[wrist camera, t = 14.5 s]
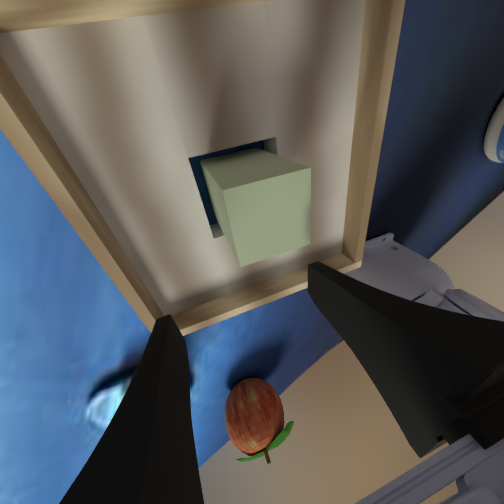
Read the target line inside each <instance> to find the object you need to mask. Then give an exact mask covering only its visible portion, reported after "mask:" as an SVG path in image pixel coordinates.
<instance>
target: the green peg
mask: <svg viewBox="0 0 504 504" xmlns="http://www.w3.org/2000/svg"><path fill="white" fill-rule="evenodd" d="M200 164H201V167H202V171H203V175H204V178H205V182H206V186H207V189H208V193H209V196H210V200H211V204H212V207H213V211H214V215H215V217H216V219H217V221H218V223H219V225H220V227H221V229H222V231H223V233H224V235H225V237H226V239H227V241H228V243H229V245H230V247H231V249H232V252H233V254H234V256H235V258H236V260H237V262H238V264H239V266H240V267H243V266H246V265H249V264H252V263H255V262H258V261H261V260H264V259H267V258H270V257H273V256H276V255H279V254H282V253H285V252H288V251H291V250H294V249H297V248H300V247H303V246H306V245H309V244H311V167H309V166H306V165H303V164H300V163H297V162H295V161H292V160H289V159H286V158H284V157H281V156H278V155H275V154H272V153H270V152H267V151H264V150H261V149H258V148H252V149H248V150H243V151H239V152H235V153H230V154H226V155H222V156H217V157H213V158H208V159H204V160H200Z"/></svg>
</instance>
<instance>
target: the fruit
mask: <svg viewBox="0 0 504 504" xmlns="http://www.w3.org/2000/svg"><path fill="white" fill-rule="evenodd" d="M293 423H294V421H290V422H288V423H287V425H286V427H285V428H284V411H283V406H282V403H281V399H280V398H279V395H278V393H277V392H276V391H275V389H274V388H273V387H272V386H271V385H270V384H269V383H267V382H266V381H264V380H262V379H259V378H248V379H245V380H243V381H241V382H239V383H238V384H237V385H236V386H234V387H233V389H232V391H231V392H230V394H229V396H228V398H227V402H226V408H225V424H226V428H227V431H228V434H229V437H230V439H231V441H232V442H233V444H234V445H235V446H236V447H237V448H238V449H239V450H240V451H242V452H243V453H245V454H247V455H248V456H252V457H248V458H242V459H237V460H239V461H250V460H253V459H256V458H259V457H261V456H263V455H264V454H265V457H266V460H267V464H270V463H271V462H270V458H269V455H268V451H269V450H271V449H273V448H275V447H278V446H279V445H280V444H281V443H282V442H283V441H284V440H285V439H286V438H287V437H288V435H289V433H290V431H291V428H292V426H293ZM283 428H284V430H283Z"/></svg>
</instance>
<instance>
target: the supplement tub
mask: <svg viewBox="0 0 504 504" xmlns="http://www.w3.org/2000/svg"><path fill="white" fill-rule="evenodd" d="M484 152H485V154H486V156H487V157H488V158H489V159H490V160H492V161H495V162H501V163H504V97H503V99H502V100H501V102H500V103H499V105H498V107H497V108H496V110H495V112H494V114H493V116H492V118H491V120H490V122H489V125H488V128H487V130H486V134H485V138H484Z"/></svg>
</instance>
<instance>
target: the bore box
mask: <svg viewBox="0 0 504 504" xmlns="http://www.w3.org/2000/svg"><path fill="white" fill-rule="evenodd" d="M404 5H405V0H0V129H1V131H2V132H3V133H4V135H5V136H6V137H7V139H8V140H9V141H10V143H11V144H12V145H13V147H14V148H15V149H16V151H17V152H18V154H19V155H20V156H21V158H22V159H23V160H24V162H25V163H26V164H27V166H28V167H29V168H30V170H31V171H32V173H33V174H34V175H35V177H36V178H37V179H38V181H39V182H40V183H41V185H42V186H43V187H44V189H45V190H46V191H47V193H48V194H49V196H50V197H51V198H52V200H53V201H54V202H55V204H56V205H57V206H58V208H59V209H60V210H61V212H62V213H63V215H64V216H65V217H66V219H67V220H68V221H69V223H70V224H71V225H72V227H73V228H74V229H75V231H76V232H77V233H78V235H79V236H80V238H81V239H82V240H83V242H84V243H85V244H86V246H87V247H88V248H89V250H90V251H91V252H92V254H93V255H94V256H95V258H96V259H97V261H98V262H99V263H100V265H101V266H102V267H103V269H104V270H105V271H106V273H107V274H108V275H109V277H110V278H111V280H112V281H113V282H114V284H115V285H116V286H117V288H118V289H119V290H120V292H121V293H122V294H123V296H124V297H125V298H126V300H127V301H128V303H129V304H130V305H131V307H132V308H133V309H134V311H135V312H136V313H137V315H138V316H139V317H140V319H141V320H142V322H143V323H144V324H145V326H146V327H147V328H148V330H149V331H150V332H151V333H152V330H153V327H154V324H155V321H156V320H157V319H158V318H160V317H163V316H166V315H169V314H171V316H172V318H173V320H174V321H175V323H176V325H177V326H178V328H179V330H180V332H181V333H182V335H183V336H184V335H187V334H189V333H192V332H194V331H197V330H200V329H202V328H205V327H207V326H210V325H212V324H215V323H218V322H220V321H223V320H225V319H228V318H230V317H233V316H236V315H238V314H241V313H243V312H246V311H248V310H251V309H254V308H256V307H259V306H261V305H264V304H266V303H269V302H272V301H274V300H277V299H279V298H282V297H284V296H287V295H290V294H292V293H295V292H297V291H300V290H302V289H305V288H308V264H311V263H314V262H316V261H319V262H321V263H323V264H325V265H327V266H329V267H331V268H333V269H335V270H337V271H339V272H341V273H343V274H344V273H346V272H349V271H351V270H354V269H357V268H359V267H361V264H362V258H363V252H364V246H365V240H366V234H367V228H368V222H369V216H370V210H371V204H372V198H373V192H374V186H375V180H376V174H377V167H378V161H379V155H380V149H381V143H382V137H383V131H384V125H385V119H386V113H387V107H388V101H389V95H390V89H391V83H392V77H393V71H394V65H395V59H396V53H397V47H398V41H399V35H400V29H401V23H402V17H403V11H404ZM261 140H263V141H264V150H265V151H267V152H270V153H272V154H275V155H278V156H281V157H284V158H286V159H289V160H292V161H295V162H297V163H300V164H303V165H306V166H309V167H311V244H309V245H306V246H303V247H300V248H297V249H294V250H291V251H288V252H285V253H282V254H279V255H276V256H273V257H270V258H267V259H264V260H261V261H258V262H255V263H252V264H249V265H246V266H243V267H240V266H239V264H238V262H237V260H236V258H235V256H234V254H233V252H232V249H231V247H230V245H229V243H228V241H227V239H226V237H225V235H224V233H223V231H222V229H221V227H220V225H219V223H216V224H212V225H209V222H208V219H207V216H206V213H205V209H204V206H203V203H202V200H201V197H200V194H199V191H198V187H197V184H196V181H195V178H194V175H193V172H192V168H191V165H190V162H189V159H188V158H191V157H195V156H199V155H203V154H207V153H211V152H215V151H220V150H224V149H228V148H232V147H236V146H240V145H244V144H248V143H252V142H257V141H261Z"/></svg>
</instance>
